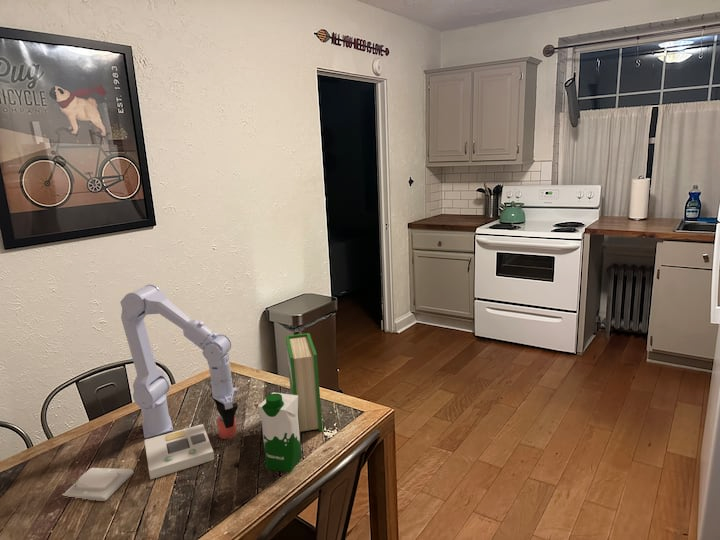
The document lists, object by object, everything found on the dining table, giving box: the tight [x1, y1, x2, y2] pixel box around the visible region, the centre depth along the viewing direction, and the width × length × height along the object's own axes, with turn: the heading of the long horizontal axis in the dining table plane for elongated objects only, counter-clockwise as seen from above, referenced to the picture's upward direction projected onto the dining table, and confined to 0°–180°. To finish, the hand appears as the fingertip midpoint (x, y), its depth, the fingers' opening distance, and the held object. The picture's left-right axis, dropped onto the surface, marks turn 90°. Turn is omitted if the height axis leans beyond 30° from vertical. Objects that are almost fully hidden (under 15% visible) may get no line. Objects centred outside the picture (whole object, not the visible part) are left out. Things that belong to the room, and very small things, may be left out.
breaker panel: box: [144, 423, 215, 480], centre depth 134 cm, size 16×16×3 cm
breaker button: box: [167, 439, 189, 454], centre depth 135 cm, size 5×5×2 cm
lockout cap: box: [216, 415, 238, 440], centre depth 143 cm, size 5×5×5 cm
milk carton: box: [257, 392, 303, 474], centre depth 126 cm, size 9×9×20 cm
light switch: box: [61, 467, 135, 502], centre depth 123 cm, size 11×4×13 cm
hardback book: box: [285, 332, 324, 436], centre depth 147 cm, size 18×7×24 cm, turn 13°
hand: (226, 420), depth 142 cm, fingers open, 7 cm apart
